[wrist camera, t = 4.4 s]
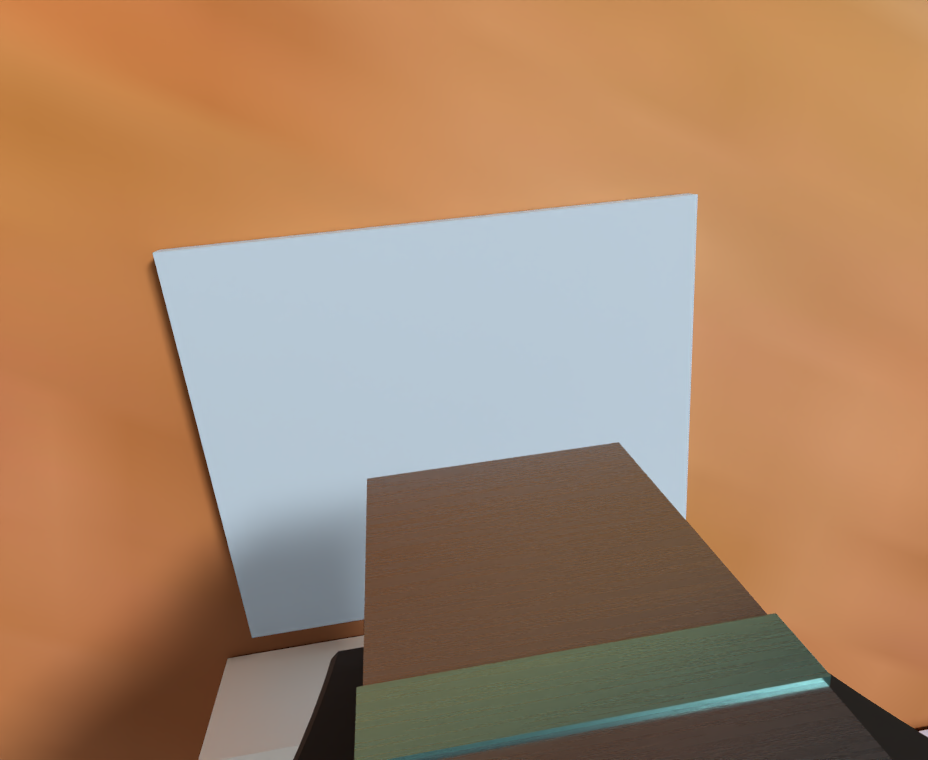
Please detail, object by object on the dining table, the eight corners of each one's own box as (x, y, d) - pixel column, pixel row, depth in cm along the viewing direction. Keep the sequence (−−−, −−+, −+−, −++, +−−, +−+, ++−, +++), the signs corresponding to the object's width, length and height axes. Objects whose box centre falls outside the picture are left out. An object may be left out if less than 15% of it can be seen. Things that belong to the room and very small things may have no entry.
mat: (688, 193, 16) (697, 194, 16) (676, 556, 20) (684, 566, 19) (159, 249, 15) (152, 252, 14) (255, 626, 19) (252, 638, 18)
